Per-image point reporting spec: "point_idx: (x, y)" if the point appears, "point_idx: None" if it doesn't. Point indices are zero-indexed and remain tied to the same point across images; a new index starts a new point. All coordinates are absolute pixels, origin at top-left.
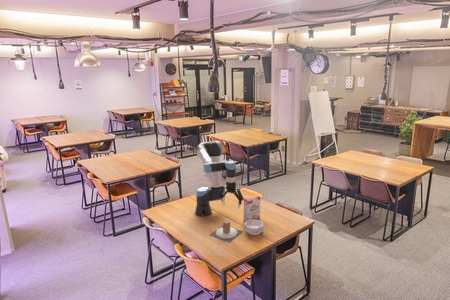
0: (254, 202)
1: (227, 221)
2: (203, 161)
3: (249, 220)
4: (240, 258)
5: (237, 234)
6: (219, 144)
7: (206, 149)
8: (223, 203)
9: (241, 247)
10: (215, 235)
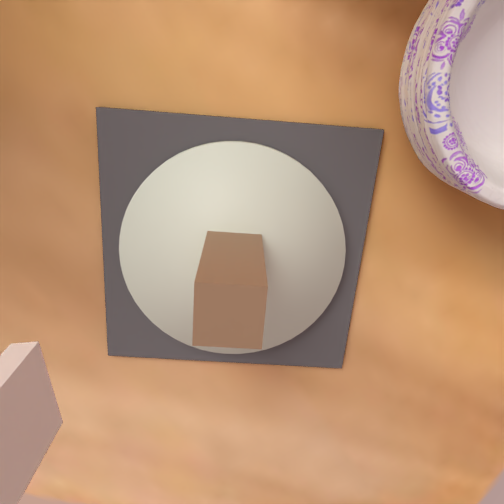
0: None
1: (236, 299)
2: None
3: (474, 7)
4: (498, 472)
5: (343, 217)
6: None
7: None
8: (27, 474)
9: (458, 368)
10: (164, 333)
